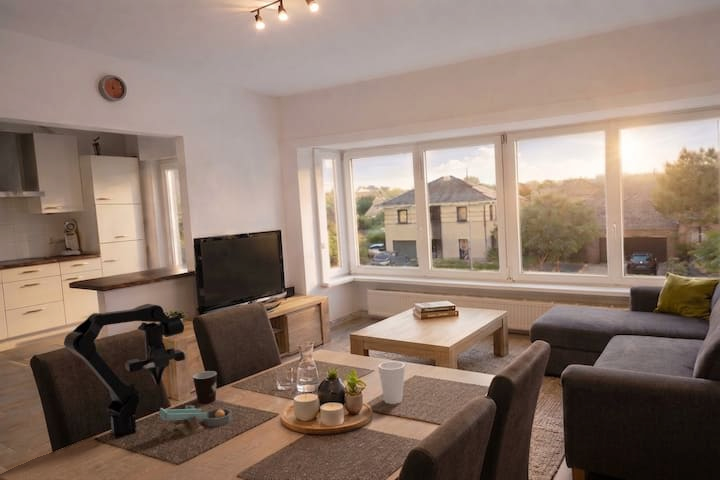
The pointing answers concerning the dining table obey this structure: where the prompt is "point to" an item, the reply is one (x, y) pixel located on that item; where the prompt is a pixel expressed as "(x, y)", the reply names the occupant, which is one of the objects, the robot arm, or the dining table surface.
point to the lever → (182, 413)
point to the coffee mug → (205, 386)
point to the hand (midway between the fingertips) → (157, 384)
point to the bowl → (214, 421)
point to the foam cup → (392, 381)
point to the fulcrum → (183, 429)
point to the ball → (219, 414)
